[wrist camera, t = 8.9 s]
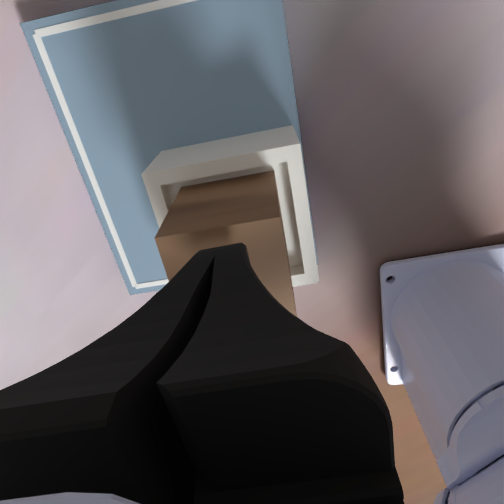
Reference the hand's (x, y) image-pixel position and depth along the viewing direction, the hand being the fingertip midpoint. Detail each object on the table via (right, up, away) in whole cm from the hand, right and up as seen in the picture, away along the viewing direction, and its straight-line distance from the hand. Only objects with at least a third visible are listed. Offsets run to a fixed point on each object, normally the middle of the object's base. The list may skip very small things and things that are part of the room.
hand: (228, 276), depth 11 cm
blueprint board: (-2, +6, +9) cm, 11 cm away
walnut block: (0, +2, +6) cm, 6 cm away
